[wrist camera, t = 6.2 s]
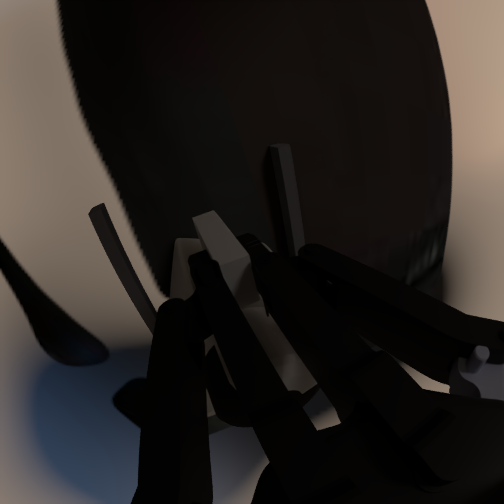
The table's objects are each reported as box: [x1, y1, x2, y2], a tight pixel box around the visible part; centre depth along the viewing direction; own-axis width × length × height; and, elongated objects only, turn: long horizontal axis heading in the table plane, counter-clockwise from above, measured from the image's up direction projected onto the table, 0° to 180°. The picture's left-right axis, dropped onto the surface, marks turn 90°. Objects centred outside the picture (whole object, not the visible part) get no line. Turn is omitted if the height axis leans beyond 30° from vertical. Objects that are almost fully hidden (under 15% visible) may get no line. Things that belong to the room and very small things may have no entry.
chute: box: [88, 143, 305, 417], centre depth 23 cm, size 24×15×4 cm, turn 13°
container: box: [170, 238, 320, 427], centre depth 18 cm, size 8×8×13 cm
